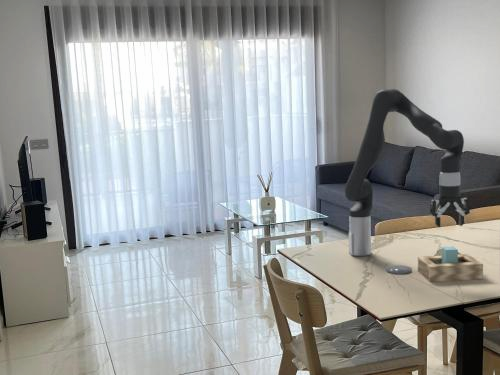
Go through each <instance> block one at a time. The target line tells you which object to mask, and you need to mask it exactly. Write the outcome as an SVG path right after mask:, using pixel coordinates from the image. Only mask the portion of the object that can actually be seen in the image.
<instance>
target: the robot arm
mask: <svg viewBox="0 0 500 375" xmlns="http://www.w3.org/2000/svg"><path fill="white" fill-rule="evenodd" d="M395 112H396V113H397V114H401V115H403V116H405V118H407V119H408V121H409V123H411V125H412V127H414V128H415V129H416V130H417V131H418V132H420V133H422V134H423V135H425V136H426V137H428V139H429V140H430V141H431V142H432V143H433V144H434V146H436V147H437V148H439V149H441V150H443V151H445V154H444V155H443V156H441V158H440V161H439V181H438V183H439V185H438V186H439V189H438V190H439V193H438V194H439V199H430V207H429V211H430V212H429V214H430V215H431V216H432V217H434V224H435V225H436V227H437V228H440V227H441V216H442V214H444V213H445V212H449V211H456V212H457V213H458V214H459V215H458V226H460V227H463V225H464V224H465V216H467V215H470V200H469V198H467V197H463V198H461V172H460V171H461V157H462V155H463V149H464V144H465V141H464V140H465V139H464V135H463V134H462V132H461V131H459V130H458V129H452V130H451V129H450V130H447V129H444V128H443V124H442V122H440V121H439V120H438V119H436V118H434V117H433V116H431V115H430V114H428V113H426V112H425V111H424V110H422V109H421V108H419V107H418V106H417V105H416V104H415V103H413V102H412V101H411V100H410V99H409V98H408V97H407V96H406V95H405V94H404V93H403V92H401V91H400V90H399V89H397V88H387V89H380V90H379V91H377V92H376V93H375V95H374V98H373V101H372V105H371V110H370V113H369V114H370V115H369V118H368V123H367V125H366V129H365V132H364V135H363V138H362V141H361V145H360V147H359V150H358V154H357V156H356V159H355V163H354V164H353V168H352V170H351V172H350V175H349V176H348V180H347V182H346V184H345V187H344V195H345V198H346V199H347V201H349V202H355V204H354V205H353V206H351V207H350V208H349V211H348V218H349V219H348V220H349V224H348V225H349V231H348V253H349V254H350V255H351V256H354V257H355V256H357V257H365V256H369V255H371V254H372V236H371V235H372V233H371V230H372V228H371V227H372V225H371V224H372V222H371V212H372V208H373V193H374V192H373V185H372V183H371V181H369V179H367V178H366V177H367V175H368V174H369V172H370V171H371V170H372V169H373V167H374V166H375V165H376V164H377V163H378V161H379V160H380V158H381V156H382V153H383V150H384V148H385V143H386V138H385V132H384V131H385V130H384V125H385V121H386V119H387V116H388V114H389V113H395ZM461 203H462V205H463V209H462V208H461V207H460V205H461ZM438 204H439V206H438ZM437 206H438V208H437Z"/></svg>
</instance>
